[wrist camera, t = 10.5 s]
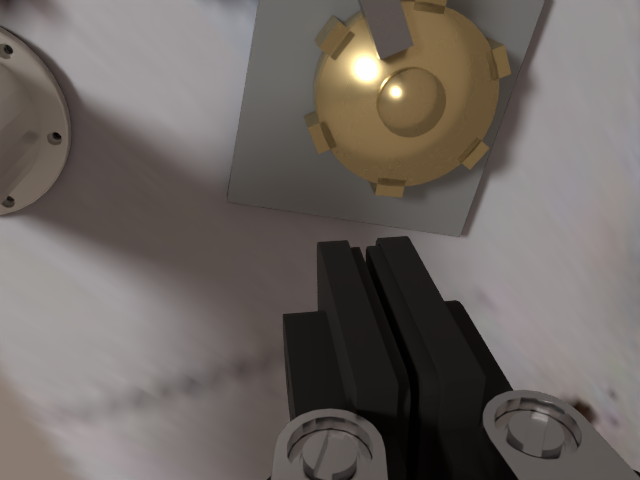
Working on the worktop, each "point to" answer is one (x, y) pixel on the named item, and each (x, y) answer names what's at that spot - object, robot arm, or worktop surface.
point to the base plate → (325, 169)
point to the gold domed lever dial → (404, 92)
